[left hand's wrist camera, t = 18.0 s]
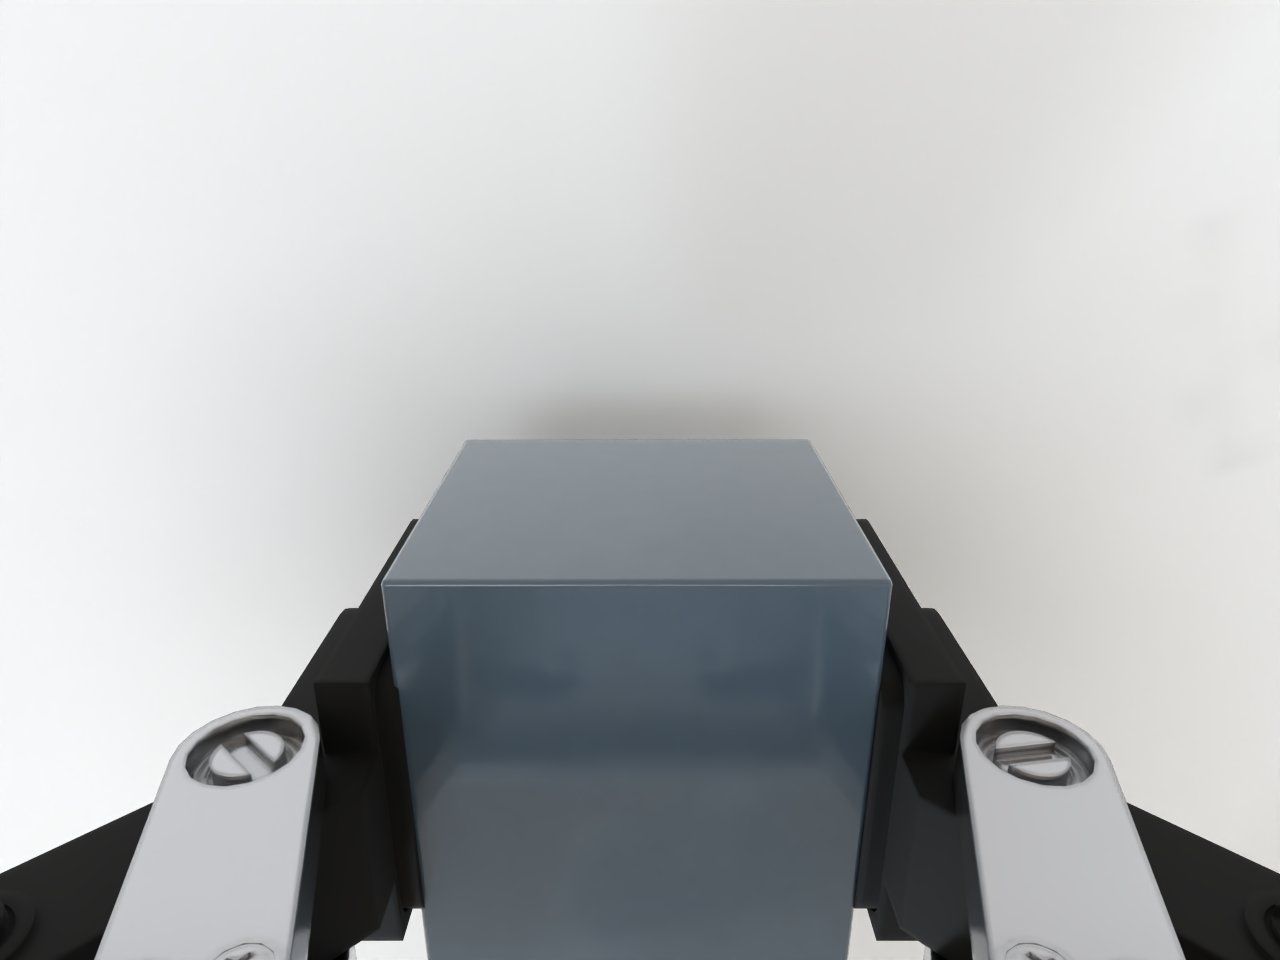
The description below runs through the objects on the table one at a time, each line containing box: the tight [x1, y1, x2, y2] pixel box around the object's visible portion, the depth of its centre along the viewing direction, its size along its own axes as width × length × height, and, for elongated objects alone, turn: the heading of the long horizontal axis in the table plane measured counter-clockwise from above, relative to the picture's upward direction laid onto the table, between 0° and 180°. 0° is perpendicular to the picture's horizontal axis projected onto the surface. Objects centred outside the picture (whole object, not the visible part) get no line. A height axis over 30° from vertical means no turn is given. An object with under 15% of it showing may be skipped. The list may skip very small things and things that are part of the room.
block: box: [381, 440, 892, 960], centre depth 10 cm, size 5×5×4 cm
